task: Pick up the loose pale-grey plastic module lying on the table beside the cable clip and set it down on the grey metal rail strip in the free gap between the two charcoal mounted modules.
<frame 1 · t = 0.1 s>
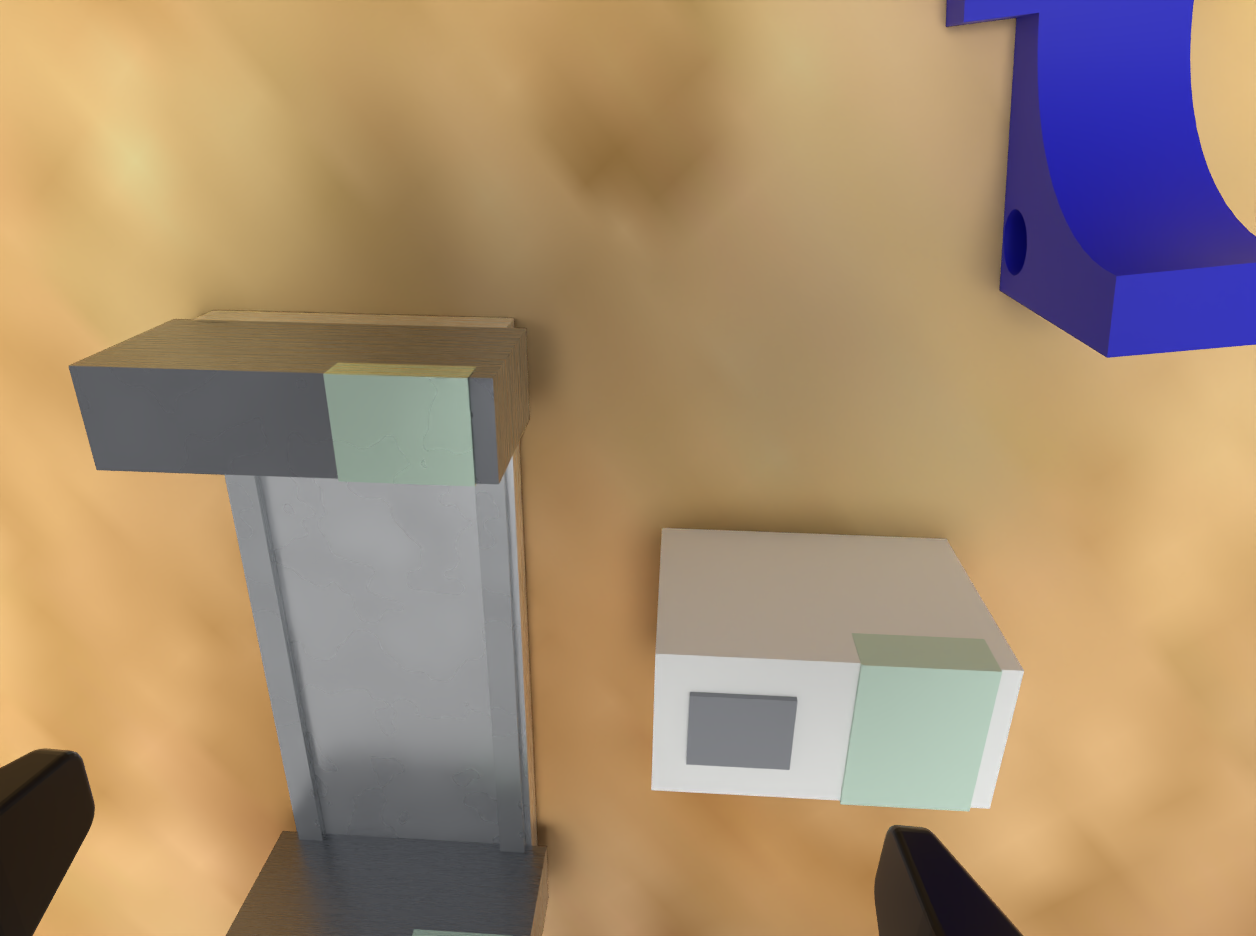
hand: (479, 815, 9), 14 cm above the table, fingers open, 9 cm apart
cable clip: (1045, 14, 19), on the table
rail: (400, 632, 26), on the table
module: (796, 591, 25), on the table
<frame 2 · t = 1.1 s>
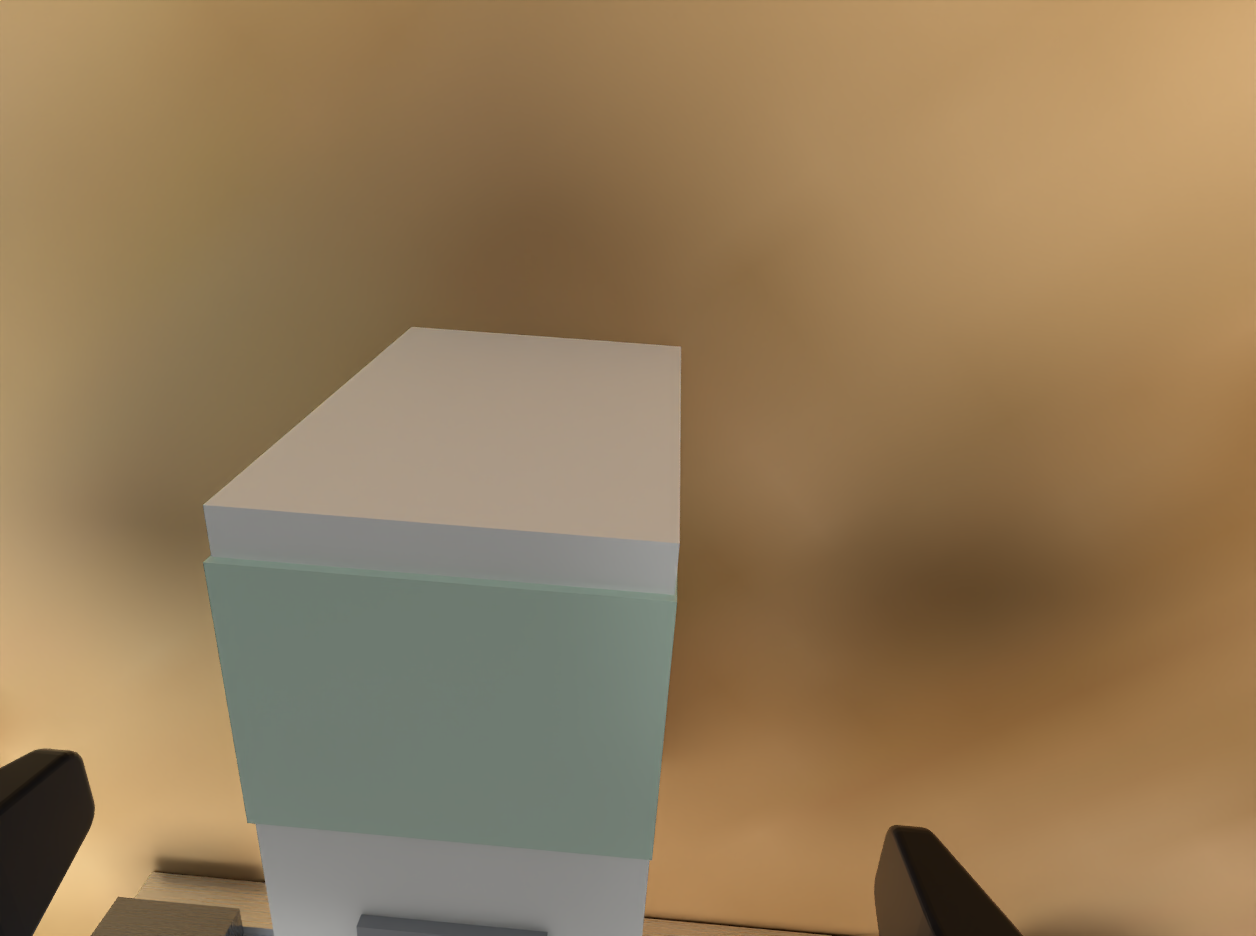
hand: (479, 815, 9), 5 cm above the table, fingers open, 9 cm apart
module: (541, 568, 14), on the table
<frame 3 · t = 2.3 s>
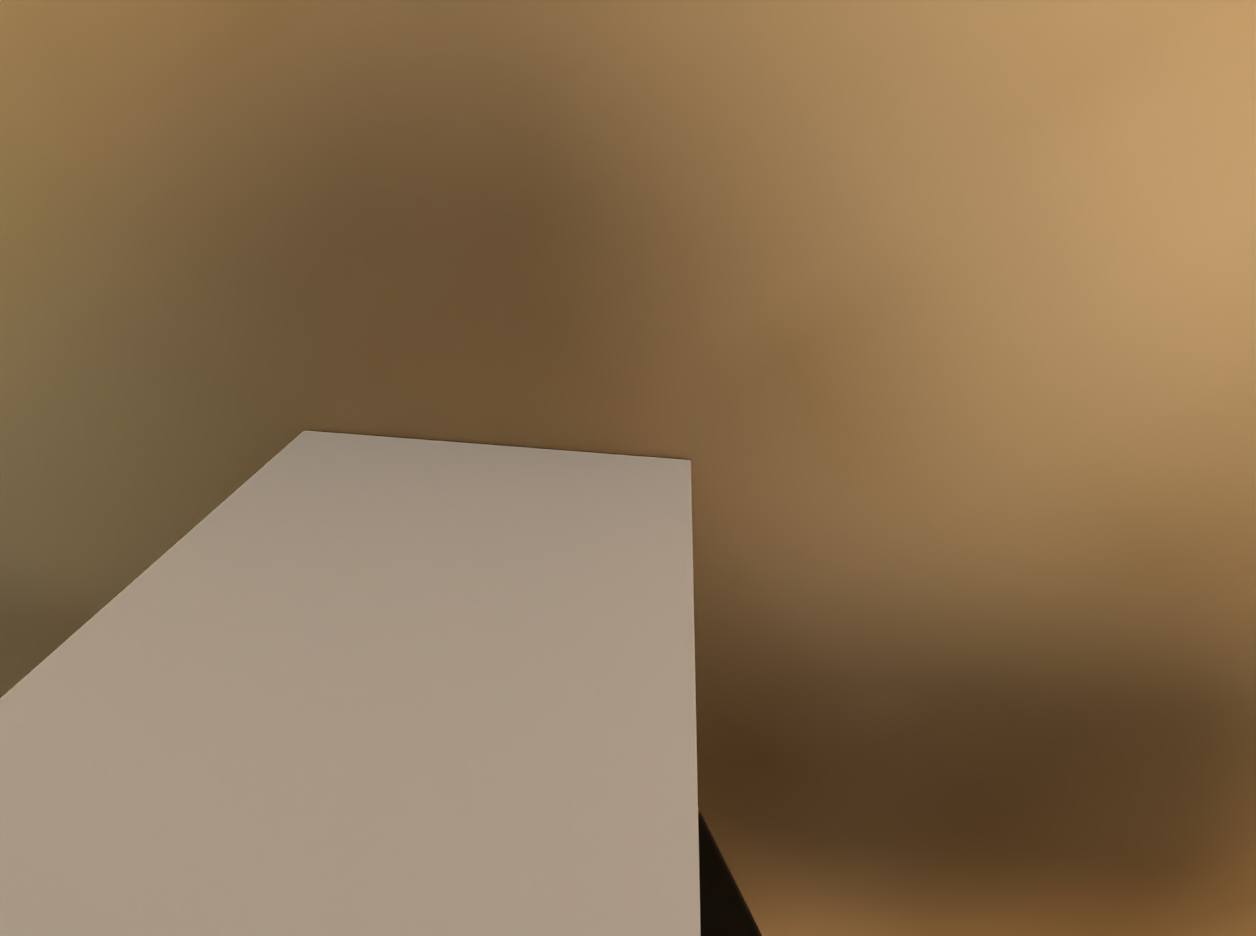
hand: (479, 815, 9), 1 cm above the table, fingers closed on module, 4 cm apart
module: (498, 747, 10), on the table, touching gripper
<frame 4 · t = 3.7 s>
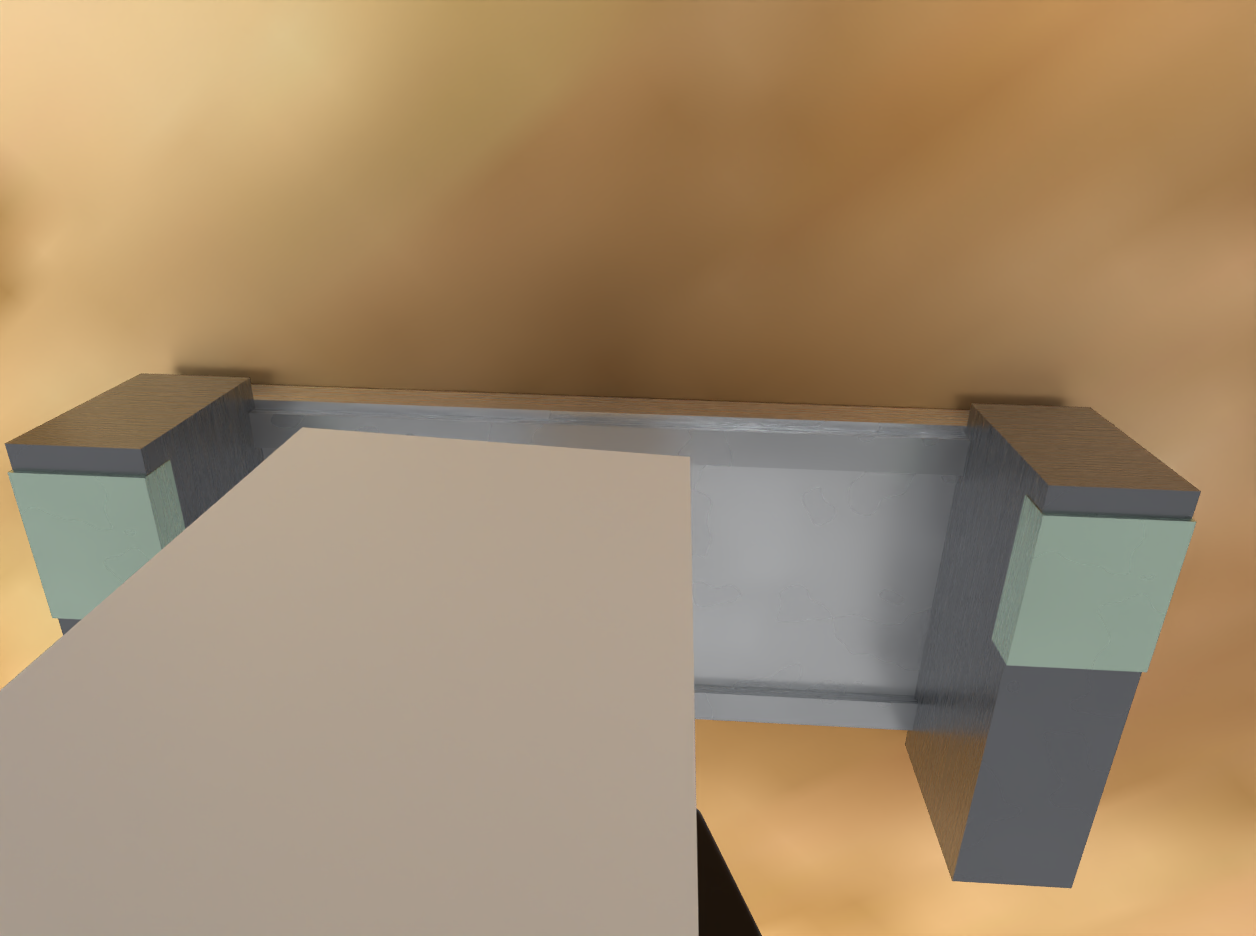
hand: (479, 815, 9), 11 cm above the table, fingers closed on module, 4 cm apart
rail: (605, 553, 20), on the table
module: (497, 745, 10), point 10 cm above the table, touching gripper
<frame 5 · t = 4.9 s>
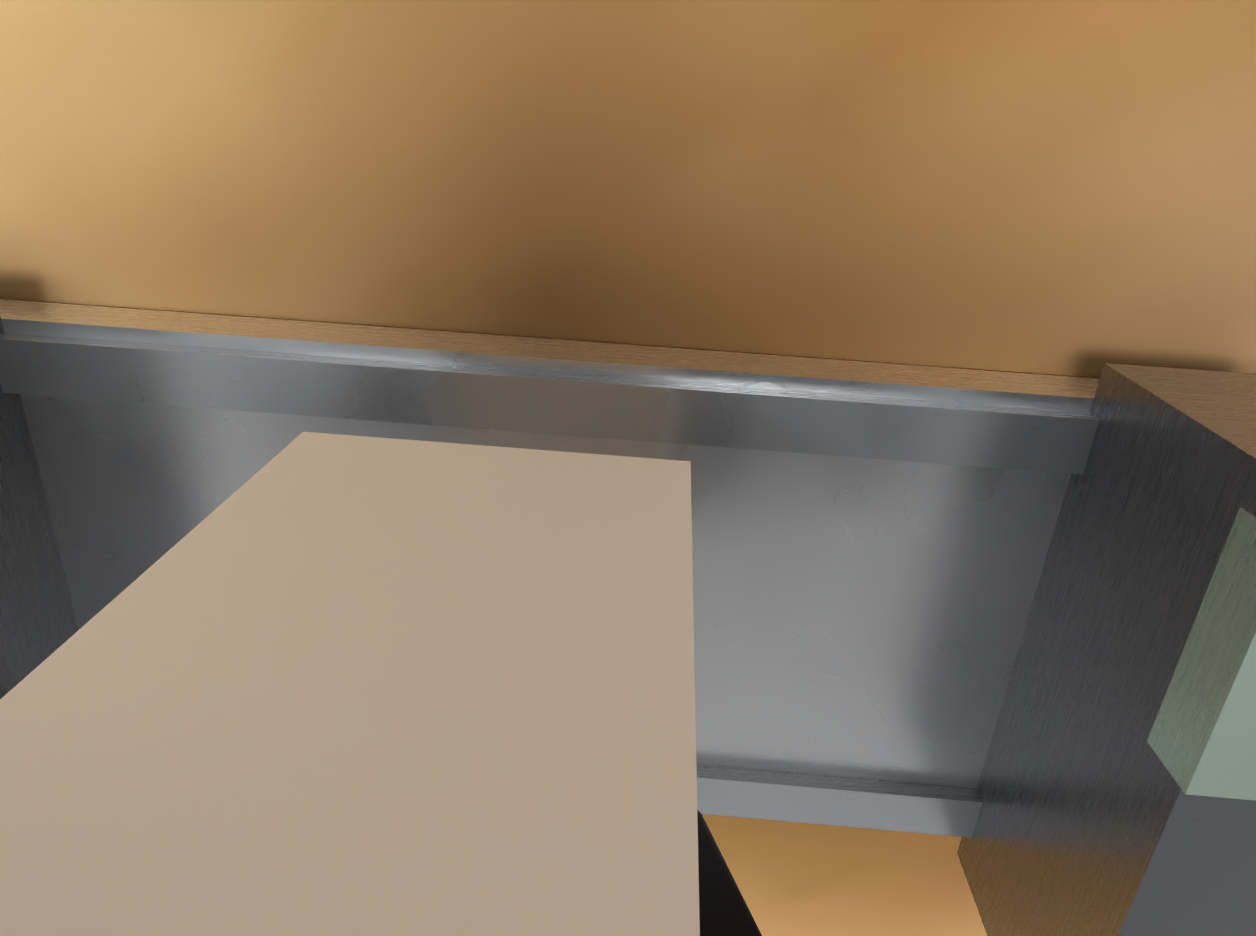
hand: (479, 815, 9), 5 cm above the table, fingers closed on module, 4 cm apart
rail: (542, 569, 14), on the table
module: (497, 749, 10), point 4 cm above the table, touching gripper
when the fingers open (3 cm above the table, at t = 5.6 s): module drops 1 cm, resting on rail.
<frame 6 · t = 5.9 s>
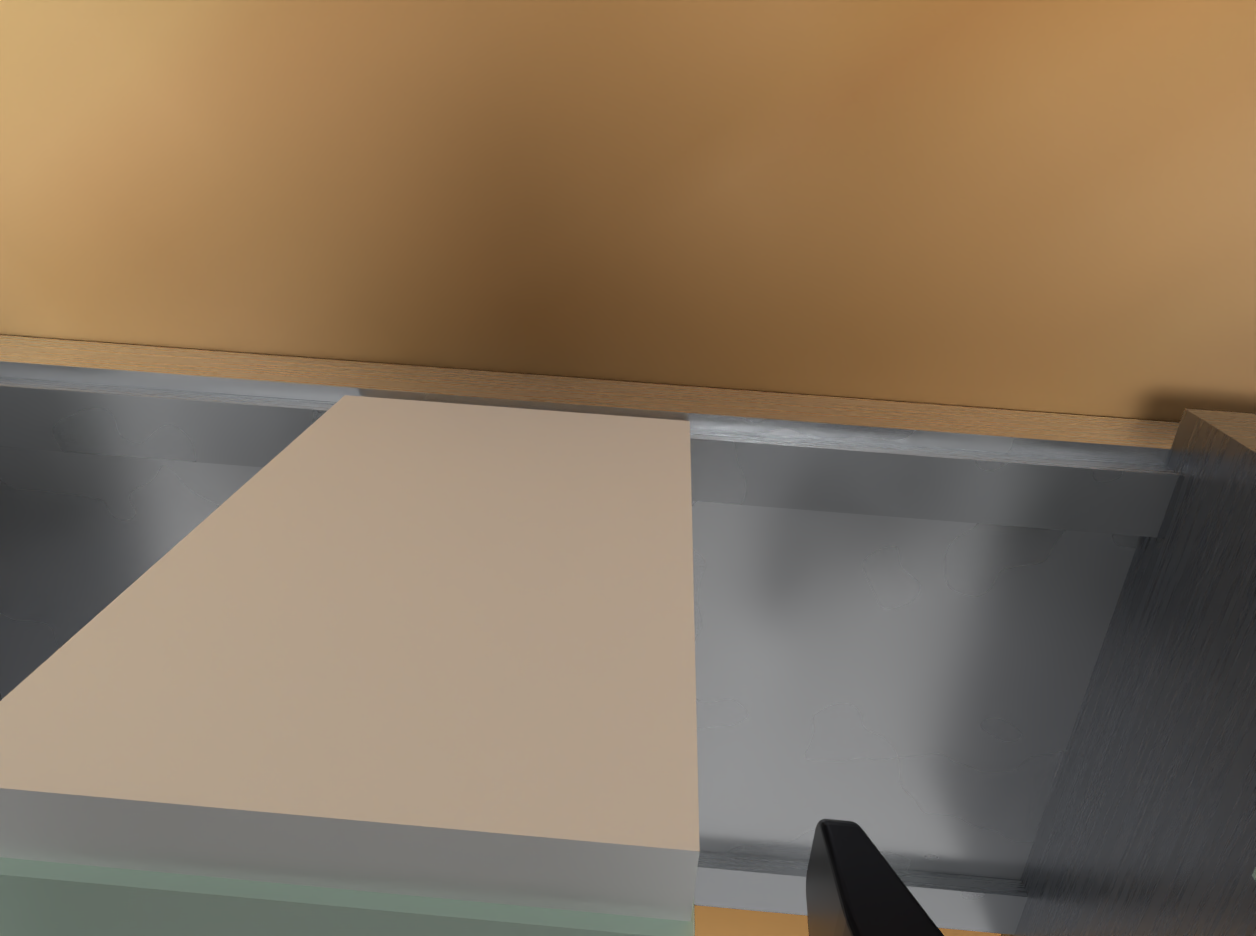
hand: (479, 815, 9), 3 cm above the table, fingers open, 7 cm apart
rail: (529, 631, 13), on the table
module: (515, 687, 11), point 1 cm above the table, touching rail
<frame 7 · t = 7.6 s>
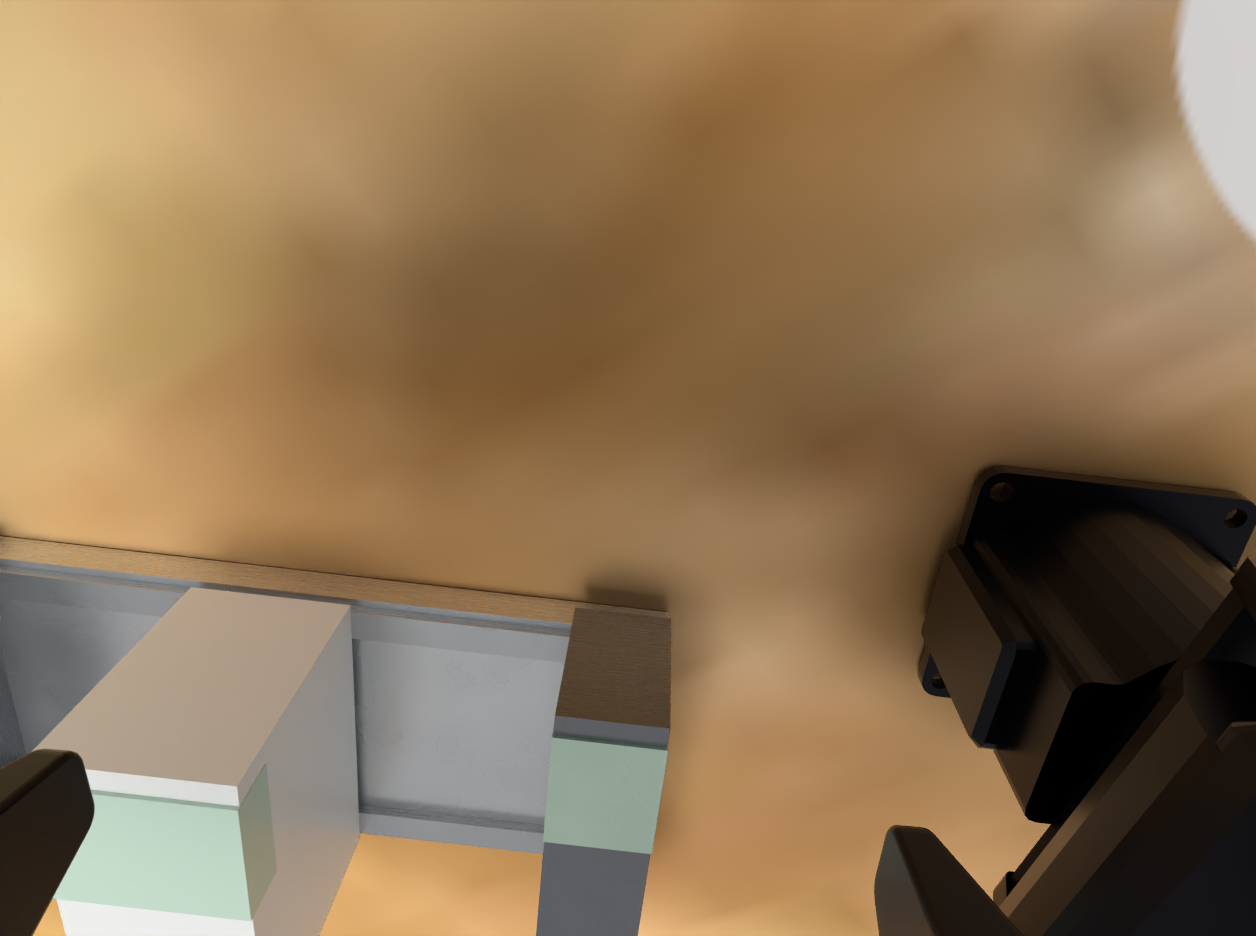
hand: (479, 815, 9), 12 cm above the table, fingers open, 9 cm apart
rail: (300, 690, 24), on the table
module: (281, 721, 23), point 1 cm above the table, touching rail
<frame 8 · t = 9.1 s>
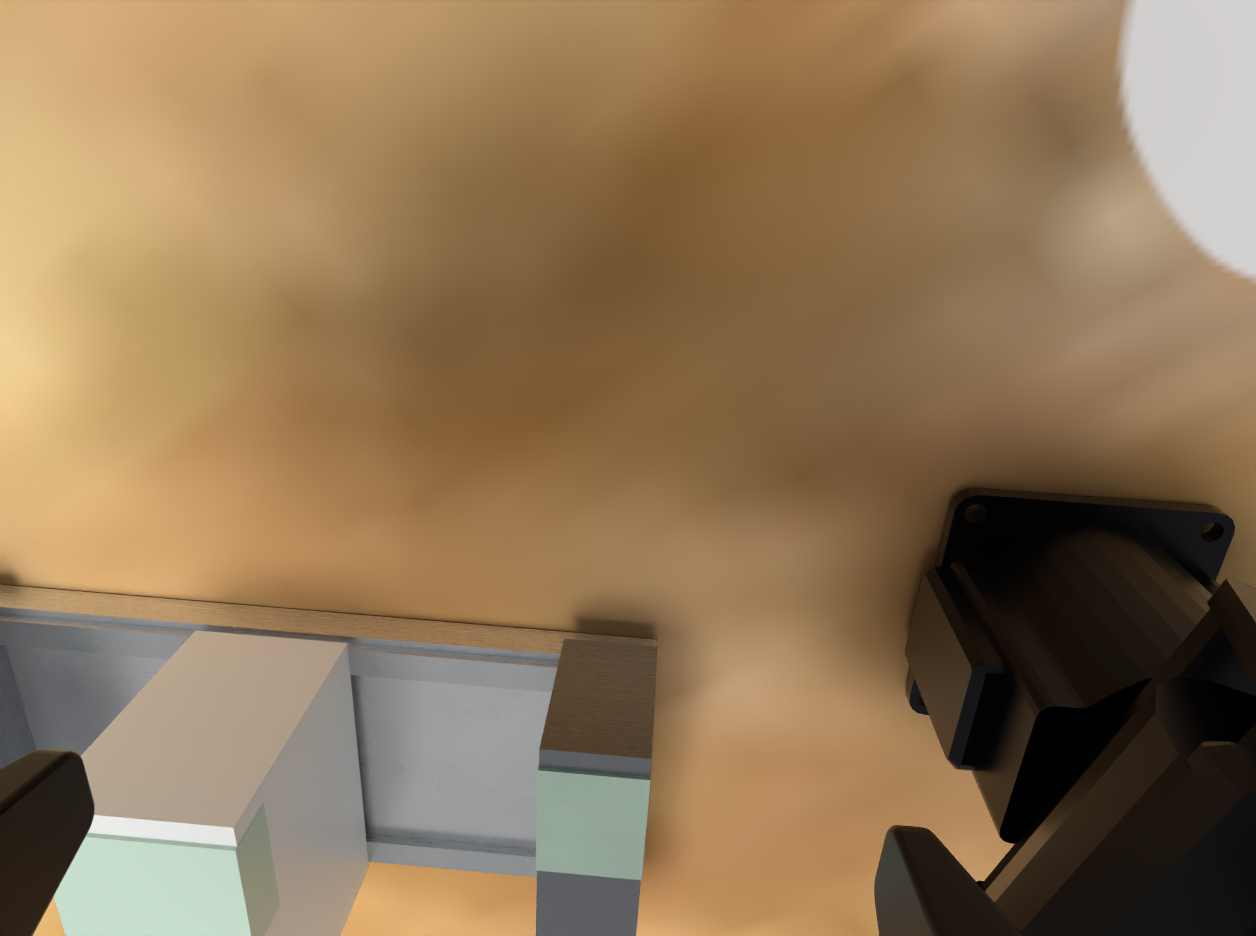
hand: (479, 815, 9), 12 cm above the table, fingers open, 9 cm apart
rail: (306, 724, 25), on the table
module: (287, 756, 23), point 1 cm above the table, touching rail
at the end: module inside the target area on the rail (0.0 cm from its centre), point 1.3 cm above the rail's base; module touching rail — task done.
